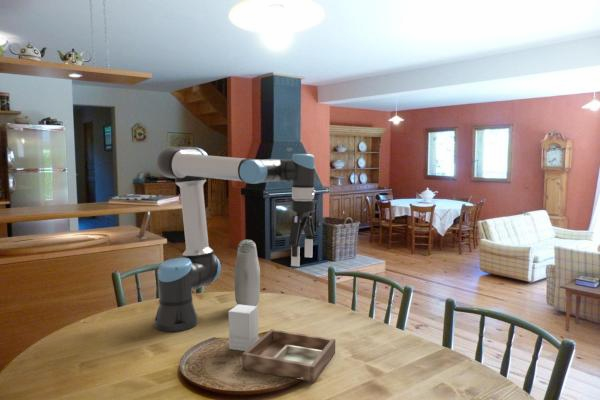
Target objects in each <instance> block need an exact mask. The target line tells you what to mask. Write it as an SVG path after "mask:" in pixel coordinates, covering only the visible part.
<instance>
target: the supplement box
mask: <svg viewBox="0 0 600 400" xmlns="http://www.w3.org/2000/svg"><path fill="white" fill-rule="evenodd" d="M258 310H259V308H258V305H256V306H248V305H240V304H238V305H237V304H236V305H235V306H234V307H233V308H231V309H230V310H228V311H227V312H228V315H227V316H228V347H229V350H235V351H241V352H245V351H246V350H247V349H249V348H250V347H251V346H252V345H253V344H254V343H256V342H257V341H258V340H259V311H258Z"/></svg>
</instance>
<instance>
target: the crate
mask: <svg viewBox="0 0 600 400" xmlns="http://www.w3.org/2000/svg"><path fill="white" fill-rule="evenodd" d="M335 354H336V338H329V337H323V336H318V335H310V334H304V333H297V332H292V331H291V332H290V331H285V330H279V329H269V330H268V331H267V332H266V333H265V334H264V335H263V336H261V337H260V338H258V341H257V342H256V343H254V344H253V345H252V346H251V347H250V348H249V349H247V350H246V351H243V352H242V355H241V362H242V365H241V367H242V368H241V369H242V370H248V371H252V372H257V373H262V374H267V375H273V376H278V377H283V378H287V377H289V379H292V378H301V377H303V378H304V380H303V382H309V383H313V384H314V383H315V382H316V381H317V380H318V378H319V377H320V375H321V374H322V373H323V371H325V368H326V367H327V365H328V364H329V362H331V360H332V359H333V357H334V356H335Z"/></svg>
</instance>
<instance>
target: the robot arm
mask: <svg viewBox="0 0 600 400" xmlns="http://www.w3.org/2000/svg"><path fill="white" fill-rule="evenodd" d="M155 164H156V165H155V166H156V168H157V171H158V172H159V173H160V174H161V175H162V176H163V177H165V178H169V179H174V181H175V182H174V183H175V184H176V186H178V187H179V192H180V199H181V212H182V220H183V229H184V232H183V233H184V240H185V250H184V251H183V253H182V257H175V258H170V259H167V260H164V261H163V262H161V263H160V264H159V266H158V273H157V278H158V280H157V281H158V298H159V299H158V302H159V303H158V304H159V305H158V308H157V311H156V315H155V318H154V328H155V329H157V330H159V331H163V332H171V333H172V332H181V331H186V330H190V329H192V328H194V327H195V326H196V325H197V324H198V321H199V320H198V319H199V318H198V314H197V311H196V309H195V305H194V303H193V291H196V290H198V289H200V288H203V287H207V286H209V285H211V284H212V283H214V282H215V281H216V280H217V279H218V278H219V276H220V275H221V274H220V273H221V271H222V270H221V268H222V267H221V262H220V260H219V258H218V257H217V255H215V254H214V249H213V248H211V247H210V246H209V245H210V244H209V237H208V235H209V234H208V226H207V215H206V207H205V206H206V204H205V194H204V184H205V183H206V182H207V179H208V178H209V179H217V180H226V181H227V180H228V181H236V182H237V181H238V182H244V183H246V184H252V185H253V184H254V185H256V184H257V185H258V184H261V183H271V182H273V183H274V182H289V183H290V182H291V183H292V184H291V199H292V201H291V211H293V212H294V213H296V214H295V215H292V222H291V223H292V224H291V227H290V228H291V229H290V233H289V234H290V235H289V239H288V247H291V248H290V250H291V252H290V253H291V255H290V258H291V259H290V266H291V267H300V266H301V265H300V263H301V262H300V261H301V256H300V253H301V251H300V249H301V246H300V242H301V238H302V234H303V232H304V236H305V238H304V258H310V259H311V258H313V255H314V254H313V247H314V246H313V245H314V243H313V242H314V240H316V233H315V226H314V220H313V219H314V218H313V213H314V210H315V201H314V199H315V194H316V192H317V191H316V190H315V177H316V176H315V173H316V162H315V156H314V155H313V154H311V153H294V154H292V158H290V159H281V158H279V159H277V158H276V159H275V158H267V159H258V158H257V159H256V158H242V157H241V158H240V157H233V156H231V157H230V156H218V155H208V153H207V152H206V151H205V150H204V149H202V148H199V147H195V146H168V147H167V146H166V147H165V148H163V149H162V150H160V151H159V153H158V154H157V156H156V160H155Z"/></svg>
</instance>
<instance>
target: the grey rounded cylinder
mask: <svg viewBox="0 0 600 400" xmlns="http://www.w3.org/2000/svg"><path fill="white" fill-rule="evenodd" d="M236 253H237V254H236V258H235V259H236V260H235V265H234V270H233V271H234V272H233V273H234V274H233V276H234V277H233V279H234V298H235V299H234V300H235V302H236V306H237V305H238V304H240V305H248V306H258V303H259V301H260V297H261V295H260V294H261V268H260V263H259V262H260V261H259V257H258V250H257V245H256V243H255V241H253V240H252V239H243V240H241V241H240V242H239V243H238V245H237V251H236Z"/></svg>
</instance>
